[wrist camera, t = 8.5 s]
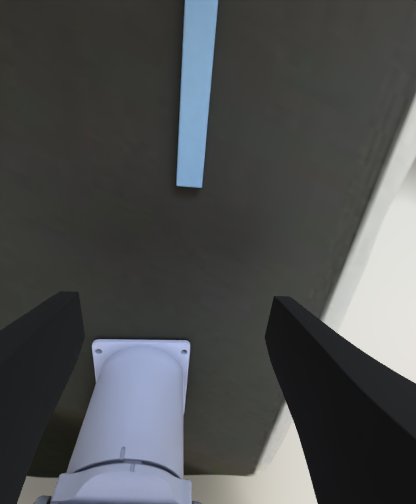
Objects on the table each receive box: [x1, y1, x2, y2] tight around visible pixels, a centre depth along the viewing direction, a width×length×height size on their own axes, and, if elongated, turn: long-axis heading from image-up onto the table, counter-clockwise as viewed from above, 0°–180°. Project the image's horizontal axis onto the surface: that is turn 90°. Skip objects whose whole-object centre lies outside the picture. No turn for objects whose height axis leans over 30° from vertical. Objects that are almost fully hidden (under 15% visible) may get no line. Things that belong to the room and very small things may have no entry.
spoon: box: [176, 0, 218, 188], centre depth 13 cm, size 17×5×1 cm, turn 174°
